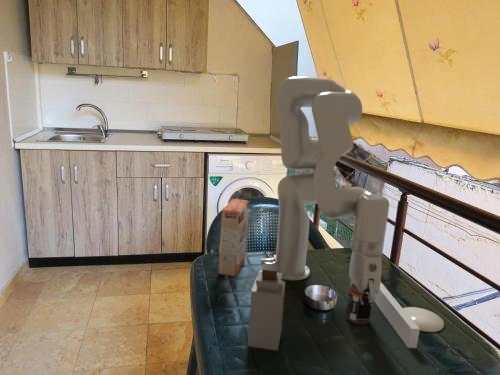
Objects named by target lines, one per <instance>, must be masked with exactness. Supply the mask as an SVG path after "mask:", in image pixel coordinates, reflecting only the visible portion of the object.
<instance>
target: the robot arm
mask: <svg viewBox="0 0 500 375" xmlns="http://www.w3.org/2000/svg"><path fill="white" fill-rule="evenodd" d="M275 100H276V101H275V104H276V110H277V115H278V119H279V124H280V125H279V126H280V127H279V128H280V149H281V150H280V152H281V156H280V157H281V162H282V165H283V166H284V168H286V169H287V170H293V171H294V170H300V171H301V170H309V173H298V174H297V173H296V174H295V173H294V174H289V175H286V176H284V177H282V178H281V179H280V181H279V183H278V185H277V198H278V222H277V223H278V224H277V234H276V235H277V238H276V247H275V248H276V249H275V254H273V257H270V258H266V257H264V258H263V257H261V258H260V265H264V264H271V265H278V271H277V273H283V275H282V279H281V280H285V281H302V280H304V279H307V278H308V277H309V276H310V273H311V270H310V268H309V266H307V265H306V263H307V262H306V261H307V254H308V252H307V251H308V243H309V233H310V216H309V214H308V212H307V210H306V208H305V206H309V205H317V206H318V209H319V211H320V213H321V214H322V215H323V216H324V217H326V218H327V219H332V220H334V219H343V218H351V217H353V218H354V220H353V228H352V238H351V246H350V249H351V251H352V252H351V256H350V262H349V270H348V276H349V279H350V284H349V287H350V286H351V284H354V286H355V287H356V288H357V290H358V291H359V292H360V303H358V310H357V318H363V319H369V318H370V317H371V314H372V313H371V312H372V306H373V304H374V301H375V300H376V295H375V293H376V294H378V293H379V291H380V282H381V281H382V267H383V266H382V262H383V261H382V259H383V258H382V255H383V252H384V244H385V238H386V230H387V223H388V217H389V209H390V201H389V199H388V198H387V197H385V196H382V195H381V194H375V193H373V192H371V191H369V190H368V189H366V188H364V187H362V186H349V187H348V186H347V187H338V188H336V187H337V186H336V184H335V178H334V169H335V165H336V164H337V162H338V160H339V159H340V158H341V157H343V156H345V155H347V154H348V153H350V152H351V151H352V150H353V148H354V141H353V138H352V133H351V128H350V125H351V124H355V123H357V122H358V121H360V119H361V118H362V115H363V105H362V101H361V99H360V98H359V96H358V95H357V94H356V93H355V92H353V90H352V91H351V90H350V89H349V88H347V87H345V86H343V85H342V84H340V83H339V82H337V81H336V80H332V79H331V78H324V77H315V76H313V77H312V76H304V75H303V76H302V75H301V76H299V75H297V76H290V77H287V78H285V79H284V80H283V81H281V83H280V84H279V85H278V88H277V91H276V94H275ZM302 108H311V112H312V116H313V120H314V121H313V122H314V125H315V131H316V134H317V137H310V129H309V128H310V127H309V125H310V124H309V121H308V118H307V116H306V114H305V113H304V112H303V110H302ZM381 283H382V282H381ZM365 289H368V291H364V290H365ZM364 294H368V297H366V298H364ZM369 320H370V319H369Z"/></svg>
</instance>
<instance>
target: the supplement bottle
mask: <svg viewBox="0 0 500 375" xmlns="http://www.w3.org/2000/svg"><path fill="white" fill-rule="evenodd" d="M364 291H368V289H365V290H364ZM366 297H368V294H364V298H366ZM358 303H360V292H359V291H358V290H357V288H356V287H355V286H354V284H351V286H350V285H349V289H348V296H347V304H346V311H345V318H346V319H347V320H348V321H349V322H351V323H352V324H355V325H365V324H368V323H369V322H370V318H369V319H363V318H357V310H358Z"/></svg>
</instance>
